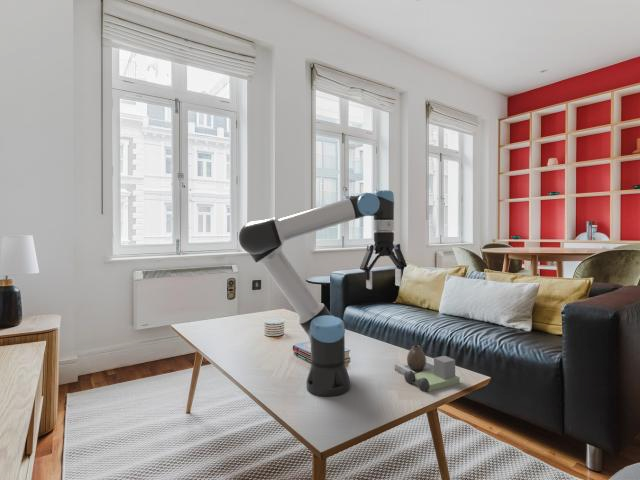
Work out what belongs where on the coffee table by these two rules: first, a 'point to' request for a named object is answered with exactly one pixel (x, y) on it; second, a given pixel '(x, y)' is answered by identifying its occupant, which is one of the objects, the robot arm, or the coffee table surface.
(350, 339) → the coffee table surface
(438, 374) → the toy truck
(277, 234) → the robot arm
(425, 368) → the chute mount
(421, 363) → the vase
